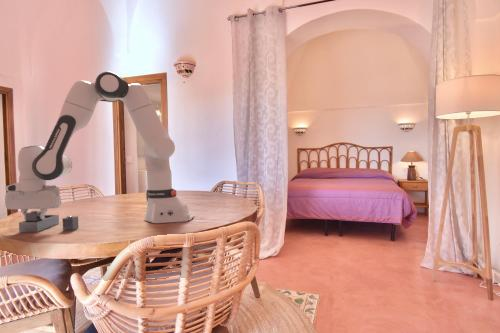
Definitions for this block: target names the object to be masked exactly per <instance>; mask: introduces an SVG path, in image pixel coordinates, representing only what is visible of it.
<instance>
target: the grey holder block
mask: <svg viewBox="0 0 500 333" xmlns="http://www.w3.org/2000/svg"><path fill="white" fill-rule="evenodd" d="M59 216H60V215H59V214H45V218H44V219H43V220H40V221H37V222H26V220H25V219H24V220H23V221H19V222H18V230H19V231H18V232H19V233H22V234H23V233H38V232H42V231H44V230H46V229H49V228H51V227H54V226H56V225H57V226H58V225H60V217H59Z"/></svg>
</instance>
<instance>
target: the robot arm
mask: <svg viewBox="0 0 500 333" xmlns="http://www.w3.org/2000/svg"><path fill="white" fill-rule="evenodd" d="M118 101H121V102H123V103H124V105H125V106H126V109H127V111H128V113H129V116H130V117H131V120H132V122H133V125H134V126H135V129H136V130H137V132H138V133H139V135H140V136H141V138H142V140H143V142H144V145H143V153H144V162H145V168H146V188H147V189H146V195H145V196H146V197H145V198H146V211H145V216H144V221H145V222H150V223H152V224H163V223H165V224H166V223H181V222H188V220H189V221H191V220H193V219H194V213H192V212H190V210H189V206H188V203H186V202H185V201H183V200H182V199H181V198H180V197H178V196H177V189H174V188H172V187H173V186H172V185H173V184H172V182H173V181H172V180H173V179H172V170H171V166H170V161H169V158H170V157H171V156H172V155H173V154H174V153H175V149H176V145H175V143H174V140H172V139H171V137H170V135H169V133H168V132H167V129H166V128H165V126H164V124H163V123H162V121H161V120H160V118H159V115H158V112H157V111H156V109H155V106H154V104H153V101H152V98H150V96H149V93H147V91H146V89H145V87H143V85H141V84H140V83H130V84H129V83H128V82H127V81H126V80H125V79H123V78H122V77H121V76H120V75H119V74H117V73H115V72H114V71H113V72H112V71H103V72H100V73H99V74H98V75H97V77H96V79H95V81H94V82H89V81H87V80H77V81H75V82H74V83H73V85H72V86H71V87H70V89H69V91H68V93H67V95H66V97H65V100H64V102H63V104H62V107H61V111H60V113H59V115H58V118H57V120H56V123H55V126H54V127H53V129H52V132H51V134H50V136H49V138H48V140H47V142H46V145H45V146H44V147H43V146H42V145H29V146H24V147H22V148H21V149H20V150H19V151H18V156H17V169H18V172H19V175H18V176H19V177H18V181H17V182H15V183H13V184H9V185H6V186H5V191H6V193H5V195H4V205H5V208H6V209H7V210H20V212H21V214H22V215H23V216H24V218H23V219H24V221H25V220H26V213H29V212H28V211H29V210H37V209H39V211H42V212H41V214H40V215H38V219H39V220H42V219H44V218H45V215H46V213H47V211H48V209H58V208H60V207H61V206H62V199H61V195H60V194H61V190H60V188H59V187H58V186H56V185H55V184H54V185H47V181H52V180H55V179H57V178H61V177H64V176H65V175H67V174H68V173H70V172H71V171H72V168H73V163H72V161H71V159H70V158H69V156H67V155H65V152H66V150H67V147H68V145H69V143H70V140H71V138H72V137H73V135H75V133H76V132H78V131H80V130H81V129H83V128H85V127H86V126H87V125H88V124H89V122H90V121H91V118H92V117H93V114H94V112H95V109H96V107H97V105H98V103H99V102H106V103H107V102H108V103H115V102H118ZM192 218H193V219H192Z"/></svg>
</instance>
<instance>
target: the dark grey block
mask: <svg viewBox="0 0 500 333" xmlns="http://www.w3.org/2000/svg"><path fill="white" fill-rule="evenodd" d="M61 220H62V221H61V222H62V231H63V232H65V231H66V232H69V231H70V232H71V231H75V230H78V229H79V216H78V215H77V216H76V215H75V216H74V215H67V216H65V217H63V218H62V219H61Z"/></svg>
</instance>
